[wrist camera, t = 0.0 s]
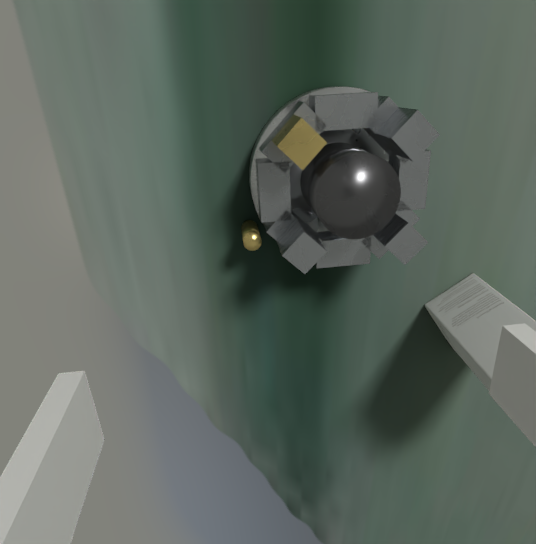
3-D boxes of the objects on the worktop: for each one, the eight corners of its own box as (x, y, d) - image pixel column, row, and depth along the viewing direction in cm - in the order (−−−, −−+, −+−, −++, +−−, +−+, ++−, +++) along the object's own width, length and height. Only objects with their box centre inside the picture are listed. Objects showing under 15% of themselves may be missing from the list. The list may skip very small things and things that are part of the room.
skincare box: (501, 321, 48) (619, 420, 34) (450, 353, 49) (544, 461, 35) (471, 269, 45) (588, 353, 31) (418, 304, 46) (507, 401, 32)
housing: (242, 92, 36) (249, 94, 27) (414, 81, 37) (470, 80, 28) (254, 256, 42) (263, 298, 34) (401, 243, 43) (444, 280, 35)
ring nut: (223, 189, 36) (223, 208, 30) (338, 53, 33) (362, 46, 27) (336, 283, 41) (353, 314, 35) (446, 172, 37) (485, 187, 32)
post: (240, 220, 40) (242, 234, 36) (257, 219, 40) (261, 232, 37) (241, 236, 41) (244, 251, 37) (258, 235, 41) (262, 249, 37)
